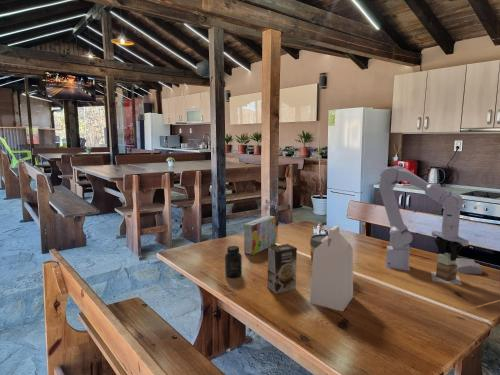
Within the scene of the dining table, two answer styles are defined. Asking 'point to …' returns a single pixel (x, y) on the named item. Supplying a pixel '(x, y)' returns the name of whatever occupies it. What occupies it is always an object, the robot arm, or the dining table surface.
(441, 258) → the pale green cube
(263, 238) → the snack box
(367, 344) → the dining table surface
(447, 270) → the tower top
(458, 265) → the stone block
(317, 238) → the reusable coffee cup
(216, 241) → the dining table surface
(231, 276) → the supplement bottle
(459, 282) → the felt mat
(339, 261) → the milk
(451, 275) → the tower base
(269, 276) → the coffee box
